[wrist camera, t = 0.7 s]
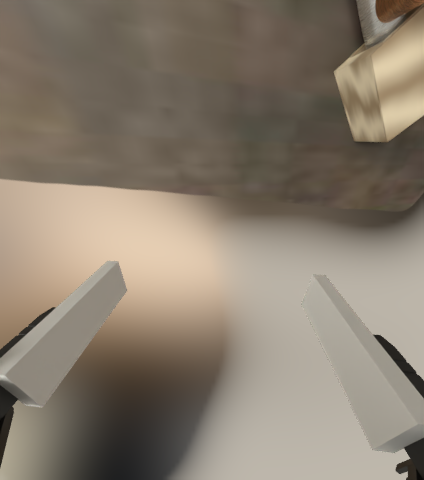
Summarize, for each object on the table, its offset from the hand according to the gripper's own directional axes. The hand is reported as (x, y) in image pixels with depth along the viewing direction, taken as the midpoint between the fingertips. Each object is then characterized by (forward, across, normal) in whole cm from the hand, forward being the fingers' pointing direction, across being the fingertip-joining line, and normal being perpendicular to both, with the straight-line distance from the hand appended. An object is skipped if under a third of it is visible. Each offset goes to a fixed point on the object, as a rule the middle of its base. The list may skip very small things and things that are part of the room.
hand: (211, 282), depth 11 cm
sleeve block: (+28, +23, +18) cm, 40 cm away
